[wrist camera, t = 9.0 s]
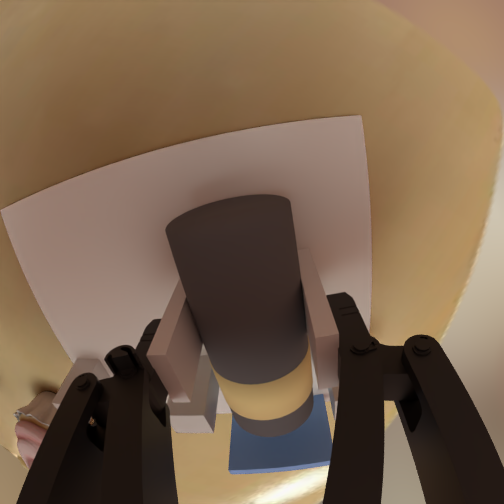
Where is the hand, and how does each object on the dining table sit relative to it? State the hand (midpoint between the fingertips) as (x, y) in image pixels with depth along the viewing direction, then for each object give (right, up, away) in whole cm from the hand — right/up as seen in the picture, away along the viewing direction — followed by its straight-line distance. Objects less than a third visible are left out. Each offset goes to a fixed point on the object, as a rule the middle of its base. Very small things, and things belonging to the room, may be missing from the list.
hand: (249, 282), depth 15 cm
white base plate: (-4, -2, +3) cm, 6 cm away
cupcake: (-22, -16, +10) cm, 29 cm away
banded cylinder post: (0, -1, +1) cm, 2 cm away
